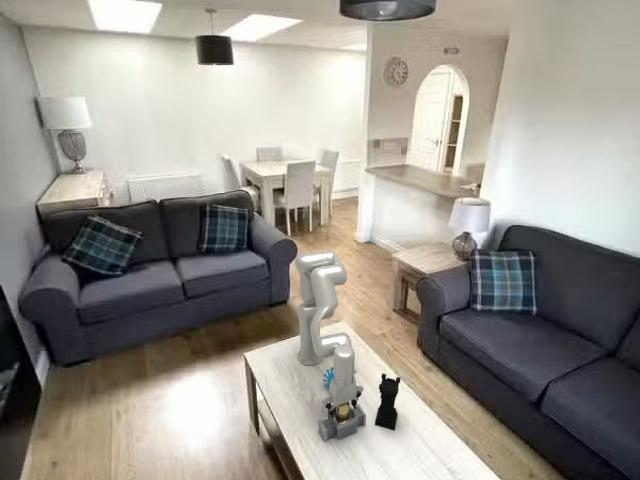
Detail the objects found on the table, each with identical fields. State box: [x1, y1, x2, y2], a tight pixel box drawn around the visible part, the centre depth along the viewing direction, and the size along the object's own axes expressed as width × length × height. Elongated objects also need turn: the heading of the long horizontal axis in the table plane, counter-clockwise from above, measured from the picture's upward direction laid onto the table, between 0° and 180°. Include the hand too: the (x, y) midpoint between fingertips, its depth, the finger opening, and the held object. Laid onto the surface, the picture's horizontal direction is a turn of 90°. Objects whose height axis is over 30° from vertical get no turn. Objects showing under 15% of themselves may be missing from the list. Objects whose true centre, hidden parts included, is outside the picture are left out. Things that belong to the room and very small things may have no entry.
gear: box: [322, 367, 333, 388], centre depth 162 cm, size 11×6×10 cm
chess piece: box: [374, 373, 401, 431], centre depth 141 cm, size 8×8×20 cm
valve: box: [317, 403, 367, 442], centre depth 140 cm, size 9×18×8 cm, turn 114°
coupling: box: [336, 401, 350, 422], centre depth 138 cm, size 5×5×7 cm
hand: (342, 410), depth 138 cm, fingers open, 9 cm apart
